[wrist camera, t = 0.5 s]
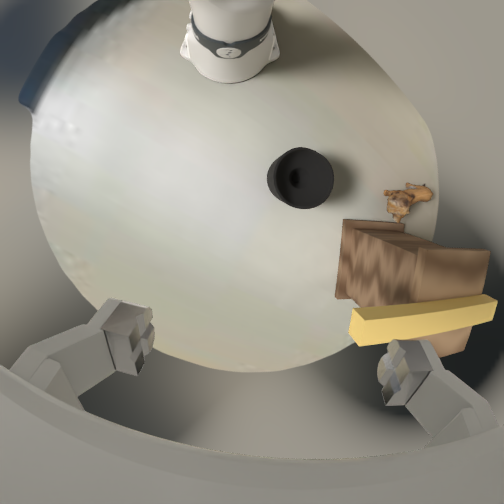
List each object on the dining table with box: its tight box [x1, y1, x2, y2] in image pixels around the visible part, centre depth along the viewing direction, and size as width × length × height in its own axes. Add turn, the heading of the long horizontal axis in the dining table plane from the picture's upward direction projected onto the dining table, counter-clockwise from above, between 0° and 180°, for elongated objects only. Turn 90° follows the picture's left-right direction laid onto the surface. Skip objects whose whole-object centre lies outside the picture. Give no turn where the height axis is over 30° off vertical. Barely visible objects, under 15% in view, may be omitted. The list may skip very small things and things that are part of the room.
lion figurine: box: [384, 183, 433, 223], centre depth 49 cm, size 15×5×9 cm, turn 115°
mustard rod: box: [348, 294, 497, 346], centre depth 28 cm, size 3×24×3 cm, turn 88°
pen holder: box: [267, 147, 334, 209], centre depth 46 cm, size 9×9×10 cm
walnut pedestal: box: [335, 219, 490, 358], centre depth 43 cm, size 16×14×26 cm
